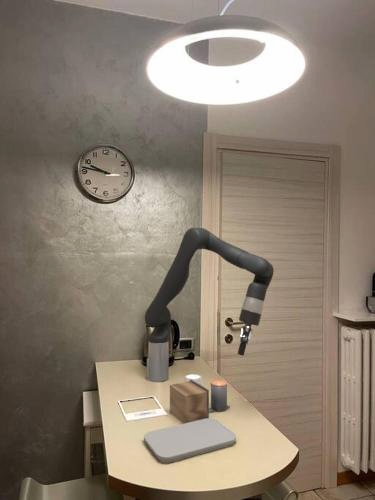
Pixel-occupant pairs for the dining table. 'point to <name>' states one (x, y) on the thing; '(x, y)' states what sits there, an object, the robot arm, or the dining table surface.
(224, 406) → the push knob
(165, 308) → the robot arm
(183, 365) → the dining table surface
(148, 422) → the dining table surface
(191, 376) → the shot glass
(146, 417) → the photo frame
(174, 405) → the brown rectangular block
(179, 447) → the tablet
